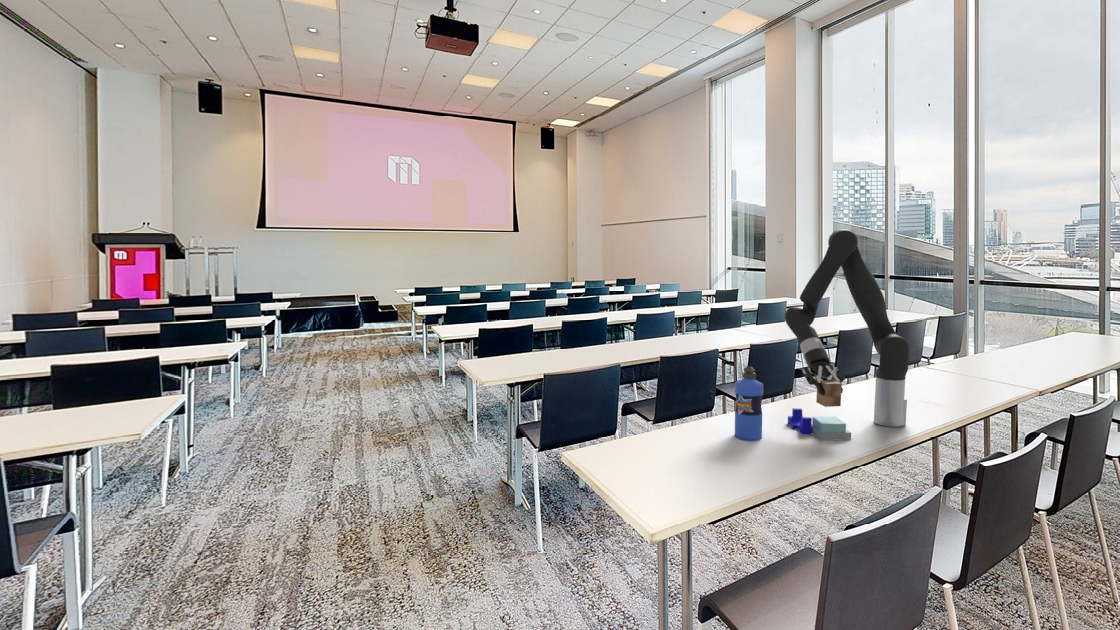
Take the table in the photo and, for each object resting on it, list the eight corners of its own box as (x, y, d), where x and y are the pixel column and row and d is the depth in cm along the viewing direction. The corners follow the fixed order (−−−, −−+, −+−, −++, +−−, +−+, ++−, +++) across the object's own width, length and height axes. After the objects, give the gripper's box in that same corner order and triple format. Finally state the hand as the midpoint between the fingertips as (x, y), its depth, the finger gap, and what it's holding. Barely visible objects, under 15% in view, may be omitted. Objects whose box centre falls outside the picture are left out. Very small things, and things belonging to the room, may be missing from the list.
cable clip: (787, 423, 199) (788, 408, 198) (800, 423, 198) (800, 408, 198) (797, 434, 187) (798, 418, 186) (811, 434, 187) (811, 418, 186)
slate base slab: (834, 431, 191) (834, 423, 191) (851, 441, 181) (851, 432, 181) (807, 432, 191) (807, 424, 190) (822, 442, 181) (822, 433, 180)
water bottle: (741, 430, 192) (742, 362, 190) (766, 436, 186) (768, 366, 183) (729, 437, 186) (730, 367, 183) (754, 443, 179) (756, 371, 176)
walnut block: (831, 401, 188) (832, 379, 187) (840, 406, 182) (841, 383, 181) (816, 402, 187) (817, 380, 186) (825, 406, 182) (826, 384, 181)
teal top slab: (835, 424, 189) (835, 416, 189) (845, 432, 181) (846, 423, 181) (812, 424, 190) (812, 416, 189) (821, 432, 182) (822, 423, 181)
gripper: (799, 347, 189) (816, 389, 179) (837, 346, 190) (857, 387, 180) (791, 359, 195) (807, 400, 185) (828, 358, 196) (846, 398, 186)
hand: (831, 393), depth 183 cm, fingers closed on walnut block, 5 cm apart
